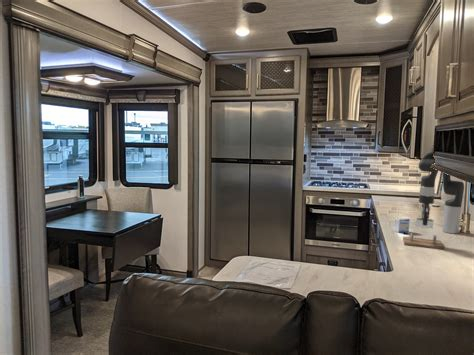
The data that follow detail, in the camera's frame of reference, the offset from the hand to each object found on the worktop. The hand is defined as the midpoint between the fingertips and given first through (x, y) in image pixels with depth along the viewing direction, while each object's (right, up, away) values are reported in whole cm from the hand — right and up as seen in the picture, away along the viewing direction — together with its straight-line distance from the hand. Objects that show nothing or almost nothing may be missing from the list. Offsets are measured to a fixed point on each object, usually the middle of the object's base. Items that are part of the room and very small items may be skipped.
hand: (424, 223), depth 213 cm
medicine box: (-1, -9, +27) cm, 29 cm away
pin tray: (0, -12, +1) cm, 12 cm away
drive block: (0, -2, 0) cm, 2 cm away
